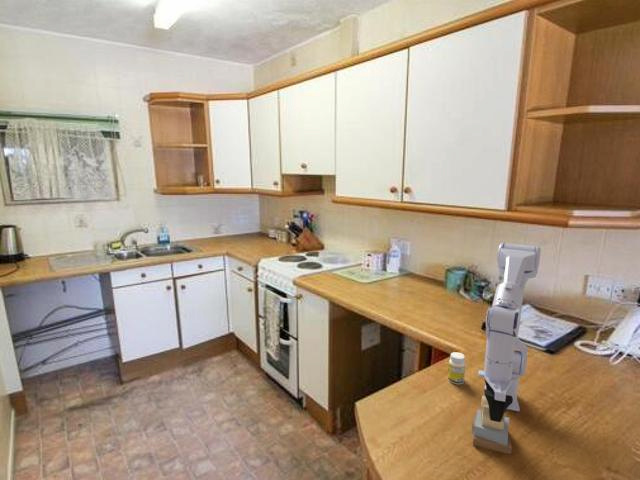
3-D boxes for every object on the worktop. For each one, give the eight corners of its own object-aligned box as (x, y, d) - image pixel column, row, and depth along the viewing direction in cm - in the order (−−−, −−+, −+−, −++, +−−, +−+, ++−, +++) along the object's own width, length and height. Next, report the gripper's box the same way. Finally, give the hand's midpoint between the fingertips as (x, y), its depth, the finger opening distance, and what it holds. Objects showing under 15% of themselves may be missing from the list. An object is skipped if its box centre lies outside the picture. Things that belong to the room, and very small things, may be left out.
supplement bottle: (450, 374, 114) (452, 349, 113) (466, 379, 111) (468, 354, 110) (445, 381, 111) (447, 355, 109) (461, 386, 108) (463, 360, 106)
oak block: (480, 413, 89) (482, 395, 88) (500, 417, 87) (502, 399, 87) (481, 425, 85) (483, 406, 84) (503, 430, 83) (505, 410, 82)
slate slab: (476, 417, 91) (477, 408, 91) (508, 427, 88) (509, 417, 88) (473, 435, 85) (474, 425, 85) (507, 446, 82) (508, 436, 82)
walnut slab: (471, 425, 92) (472, 416, 92) (506, 433, 90) (507, 424, 89) (472, 447, 85) (473, 437, 84) (510, 456, 82) (511, 447, 82)
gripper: (478, 341, 91) (474, 389, 94) (482, 370, 78) (476, 426, 80) (509, 345, 89) (504, 395, 91) (519, 376, 75) (512, 434, 78)
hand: (493, 410), depth 86 cm, fingers open, 7 cm apart
